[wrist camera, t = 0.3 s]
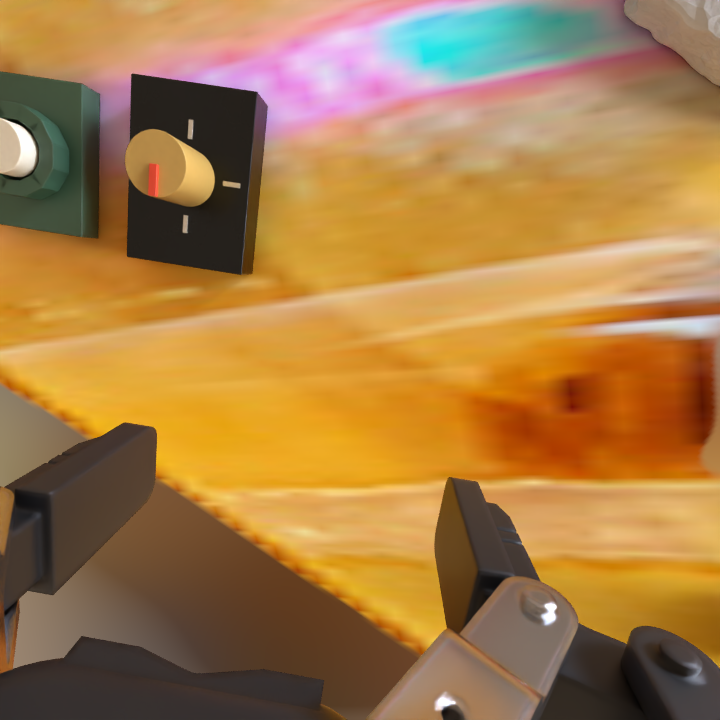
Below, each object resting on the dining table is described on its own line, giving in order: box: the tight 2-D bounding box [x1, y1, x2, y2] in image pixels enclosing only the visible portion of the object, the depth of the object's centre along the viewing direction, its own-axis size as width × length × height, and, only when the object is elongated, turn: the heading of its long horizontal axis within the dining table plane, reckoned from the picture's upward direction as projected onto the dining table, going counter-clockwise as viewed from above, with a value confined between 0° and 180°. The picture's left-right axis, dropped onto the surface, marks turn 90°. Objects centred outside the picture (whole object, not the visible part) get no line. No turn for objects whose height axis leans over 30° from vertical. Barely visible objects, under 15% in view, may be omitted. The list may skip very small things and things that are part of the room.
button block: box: [0, 71, 100, 238], centre depth 36 cm, size 12×9×4 cm
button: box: [0, 118, 39, 177], centre depth 33 cm, size 4×4×2 cm
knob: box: [125, 129, 215, 207], centre depth 32 cm, size 4×4×5 cm
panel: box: [127, 74, 268, 275], centre depth 36 cm, size 14×10×3 cm
